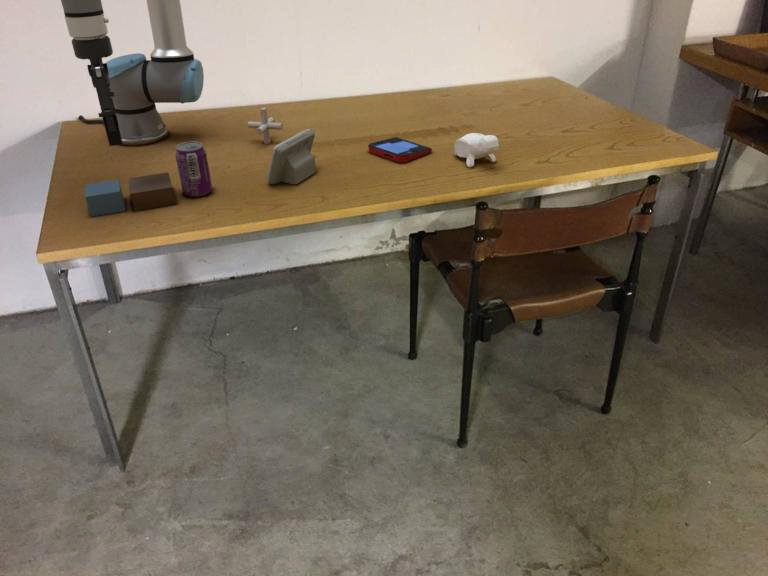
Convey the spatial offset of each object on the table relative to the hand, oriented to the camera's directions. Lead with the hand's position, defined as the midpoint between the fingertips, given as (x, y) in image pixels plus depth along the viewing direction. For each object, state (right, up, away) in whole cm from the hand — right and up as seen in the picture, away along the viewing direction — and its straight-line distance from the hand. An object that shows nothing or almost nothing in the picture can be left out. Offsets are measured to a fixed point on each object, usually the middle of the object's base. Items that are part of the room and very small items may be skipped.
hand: (114, 135), depth 144 cm
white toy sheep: (+86, -1, +27) cm, 90 cm away
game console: (+65, +3, +34) cm, 74 cm away
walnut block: (+6, -13, +9) cm, 17 cm away
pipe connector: (+27, +8, +41) cm, 50 cm away
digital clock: (+38, -6, +20) cm, 43 cm away
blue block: (-4, -16, +6) cm, 17 cm away
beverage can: (+15, -11, +13) cm, 23 cm away
